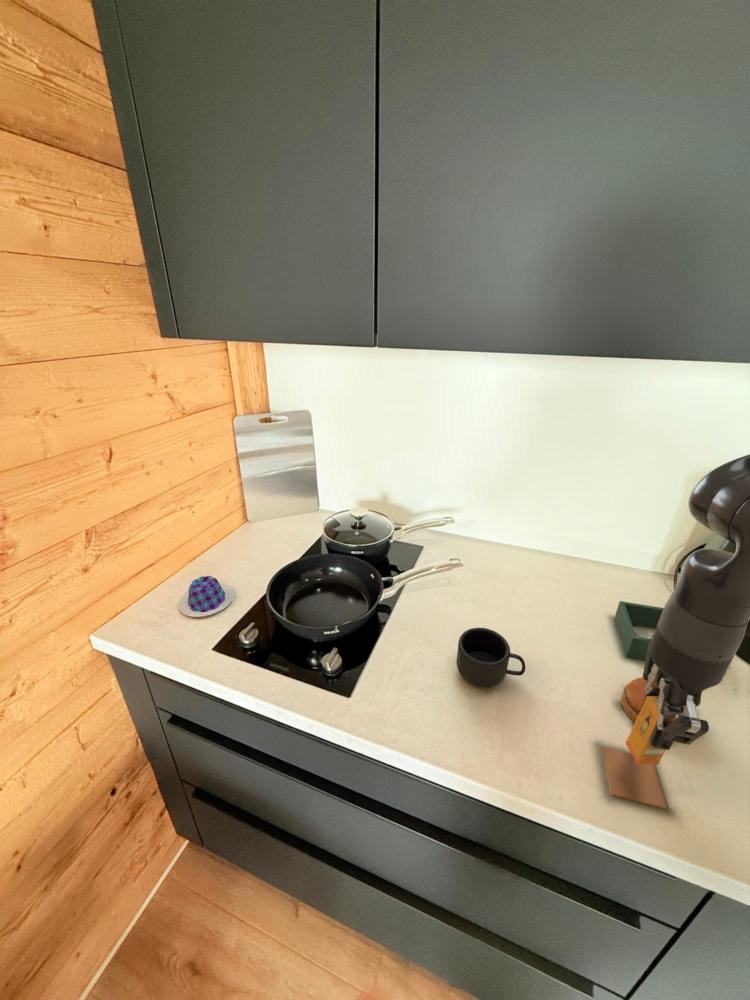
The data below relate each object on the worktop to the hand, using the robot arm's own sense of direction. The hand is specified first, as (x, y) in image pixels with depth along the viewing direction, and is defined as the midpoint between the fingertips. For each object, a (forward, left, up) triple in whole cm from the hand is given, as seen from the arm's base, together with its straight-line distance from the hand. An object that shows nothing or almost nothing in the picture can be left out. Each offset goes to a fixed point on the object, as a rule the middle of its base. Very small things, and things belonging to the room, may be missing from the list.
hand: (653, 729), depth 57 cm
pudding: (+84, -17, -11) cm, 86 cm away
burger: (-6, -13, -11) cm, 18 cm away
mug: (+21, -13, -11) cm, 27 cm away
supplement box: (0, 0, -5) cm, 5 cm away
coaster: (0, 0, -11) cm, 11 cm away
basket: (-11, -30, -11) cm, 34 cm away
